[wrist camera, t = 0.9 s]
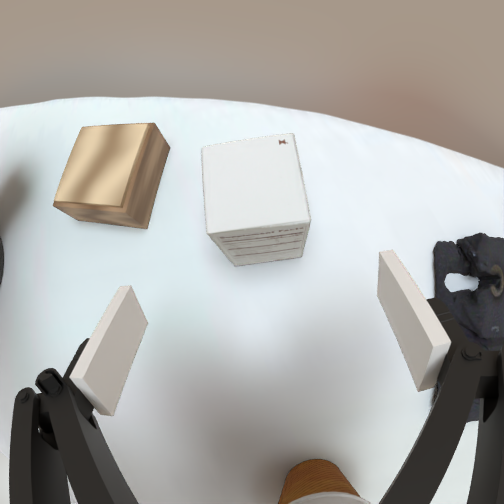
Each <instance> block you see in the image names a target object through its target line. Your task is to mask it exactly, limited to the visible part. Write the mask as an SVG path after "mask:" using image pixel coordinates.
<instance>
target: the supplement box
mask: <svg viewBox="0 0 504 504" xmlns="http://www.w3.org/2000/svg"><path fill="white" fill-rule="evenodd" d="M201 153H202V177H203V193H204V208H205V220H206V231H207V234H208V235H209V236H210V238H211V239H212V240H213V241H214V242H215V244H216V245H217V246H218V247H219V248H220V250H221V251H222V252H223V253H224V254H225V255H226V257H227V258H228V259H229V260H230V261H231V262H232V263H233V265H234V266H240V265H247V264H255V263H262V262H270V261H277V260H284V259H292V258H299V257H302V254H303V249H304V246H305V242H306V238H307V235H308V231H309V227H310V222H311V216H310V211H309V205H308V200H307V195H306V190H305V184H304V179H303V173H302V168H301V165H300V160H299V155H298V150H297V146H296V141H295V136H294V134H293V133H289V134H281V135H273V136H265V137H258V138H251V139H245V140H238V141H232V142H226V143H220V144H214V145H209V146H205V147H202V150H201Z"/></svg>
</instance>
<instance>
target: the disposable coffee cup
mask: <svg viewBox="0 0 504 504" xmlns="http://www.w3.org/2000/svg"><path fill="white" fill-rule="evenodd" d="M278 504H371V503H370V502H368V501H366V500H365V499H363V498H361V497H360V495H359V494H358V493H357V492H356V490H355V489H354V488H353V487H352V485H351V484H350V482H349V481H348V480H347V479H346V477H345V476H344V475H343V473H342V472H341V471H340V470H339V468H338V467H337V466H336V465H335V464H333V463H331V462H329V461H327V460H322V459H313V460H308V461H304V462H302V463H300V464H298V465H296V466H295V467H294V468H293V469H291V470H290V472H289V473H288V475H287V477H286V480H285V483H284V487H283V490H282V493H281V496H280V499H279V502H278Z"/></svg>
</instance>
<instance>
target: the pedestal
mask: <svg viewBox="0 0 504 504" xmlns="http://www.w3.org/2000/svg"><path fill="white" fill-rule="evenodd" d="M169 149H170V147H169V145H168V143H167V142H166V140H165V139H164V137H163V135H162V134H161V132H160V131H159V129H158V127H157V126H156V124H155V123H136V124H116V125H101V126H88V127H82V128H81V130H80V132H79V135H78V137H77V139H76V142H75V144H74V146H73V149H72V151H71V154H70V156H69V159H68V161H67V164H66V167H65V169H64V172H63V175H62V178H61V180H60V183H59V186H58V189H57V192H56V195H55V198H54V204H53V206H54V207H56V208H57V209H59V210H61V211H62V212H64V213H66V214H68V215H69V216H71V217H73V218H75V219H76V220H79V221H88V222H96V223H104V224H112V225H120V226H128V227H136V228H144V229H147V228H148V224H149V220H150V216H151V212H152V208H153V205H154V201H155V197H156V193H157V190H158V186H159V183H160V179H161V176H162V172H163V169H164V166H165V162H166V159H167V156H168V153H169Z"/></svg>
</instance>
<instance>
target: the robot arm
mask: <svg viewBox="0 0 504 504" xmlns="http://www.w3.org/2000/svg"><path fill="white" fill-rule="evenodd" d="M2 272H3V247H2V242H1V238H0V283H1V278H2ZM377 297H378V299H379V301H380V303H381V305H382V307H383V310H384V312H385V314H386V316H387V318H388V321H389V323H390V325H391V327H392V330H393V332H394V334H395V336H396V339H397V341H398V343H399V346H400V348H401V351H402V353H403V355H404V358H405V360H406V363H407V365H408V368H409V370H410V373H411V375H412V378H413V380H414V383H415V385H416V388H417V391H418V392H420V391H423V390H427V389H430V388H433V387H434V386H435V384H436V382H437V379H438V381H439V383H440V385H441V387H440V390H439V392H438V394H437V396H436V398H435V402H434V404H433V406H432V408H431V411H430V413H429V415H428V417H427V419H426V421H425V424H424V426H423V428H422V430H421V432H420V434H419V436H418V438H417V440H416V442H415V444H414V446H413V447H412V449H411V451H410V453H409V455H408V457H407V458H406V460H405V462H404V464H403V466H402V467H401V469H400V471H399V472H398V474H397V476H396V477H395V479H394V481H393V482H392V484H391V485H390V487H389V489H388V490H387V492H386V493H385V495H384V496H383V498H382V499H381V501H380V502H379V504H430V502H431V500H432V499H433V497H434V495H435V493H436V491H437V489H438V487H439V485H440V483H441V481H442V479H443V477H444V475H445V473H446V471H447V468H448V466H449V464H450V462H451V460H452V457H453V455H454V453H455V450H456V448H457V445H458V443H459V440H460V438H461V435H462V433H463V430H464V427H465V424H466V422H467V419H468V416H469V413H470V410H471V407H472V404H473V401H474V399H480V410H479V426H478V437H477V447H476V455H475V462H474V469H473V475H472V481H471V486H470V491H469V496H468V500H467V504H504V345H503V346H502V348H501V350H499V351H484V350H483V349H482V348H481V347H480V346H479V345H478V344H476V343H474V342H469V341H468V339H467V337H466V336H465V334H464V332H463V331H462V329H461V328H460V326H459V324H458V323H457V321H456V320H455V319H454V317H453V315H452V313H450V310H449V309H448V307H447V306H446V304H445V303H444V302H442V301H441V300H439V299H438V298H437V297H436V298H432V299H427V300H426V299H425V297H424V295H423V294H422V292H421V291H420V289H419V288H418V286H417V285H416V283H415V282H414V280H413V278H412V277H411V275H410V274H409V272H408V271H407V269H406V268H405V267H404V265H403V264H402V262H401V261H400V259H399V258H398V256H397V255H396V253H395V252H394V251H393V250H389V251H383V252H379V271H378V288H377ZM147 325H148V322H147V320H146V317H145V315H144V313H143V311H142V309H141V307H140V304H139V302H138V300H137V298H136V295H135V293H134V291H133V289H132V286H131V285H130V286H121V287H119V288H118V290H117V292H116V293H115V295H114V297H113V299H112V300H111V302H110V304H109V305H108V307H107V309H106V310H105V312H104V314H103V316H102V317H101V319H100V321H99V323H98V325H97V326H96V328H95V330H94V332H93V334H92V335H91V337H90V338H87V339H86V340H85V341H84V342H83V343H82V344H81V345H80V346H79V348H78V350H77V352H76V354H75V355H74V357H73V360H72V361H71V363H70V365H69V367H68V369H67V370H66V372H65V374H64V376H63V378H62V377H61V376H60V374H59V373H58V372H57V370H55V369H53V368H48V369H46V370H44V371H42V372H41V373H40V374H39V375H38V377H37V379H36V382H35V385H36V386H37V387H38V388H39V390H40V391H41V392H42V393H38V394H36V393H35V392H34V390H33V389H32V388H29V387H28V388H24V389H22V390H21V391H19V393H18V394H17V396H16V398H15V403H14V411H13V419H12V429H11V442H10V463H9V494H10V504H71V502H70V496H69V489H68V480H67V476H68V479H69V482H70V484H71V487H72V489H73V492H74V495H75V497H76V500H77V502H78V504H138V502H137V500H136V499H135V497H134V495H133V493H132V492H131V490H130V488H129V486H128V485H127V483H126V481H125V479H124V477H123V475H122V473H121V472H120V470H119V468H118V466H117V464H116V462H115V460H114V458H113V456H112V454H111V452H110V450H109V447H108V445H107V443H106V441H105V439H104V437H103V434H102V432H101V430H100V428H99V425H98V423H97V421H96V418H95V416H94V415H93V414H92V411H93V409H94V408H95V409H96V410H97V411H98V413H99V414H100V415H107V416H114V413H115V410H116V407H117V404H118V401H119V398H120V396H121V393H122V390H123V387H124V385H125V382H126V379H127V377H128V374H129V371H130V369H131V366H132V363H133V361H134V358H135V355H136V353H137V350H138V348H139V345H140V343H141V340H142V338H143V335H144V333H145V330H146V328H147ZM38 428H39V430H38Z"/></svg>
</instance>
